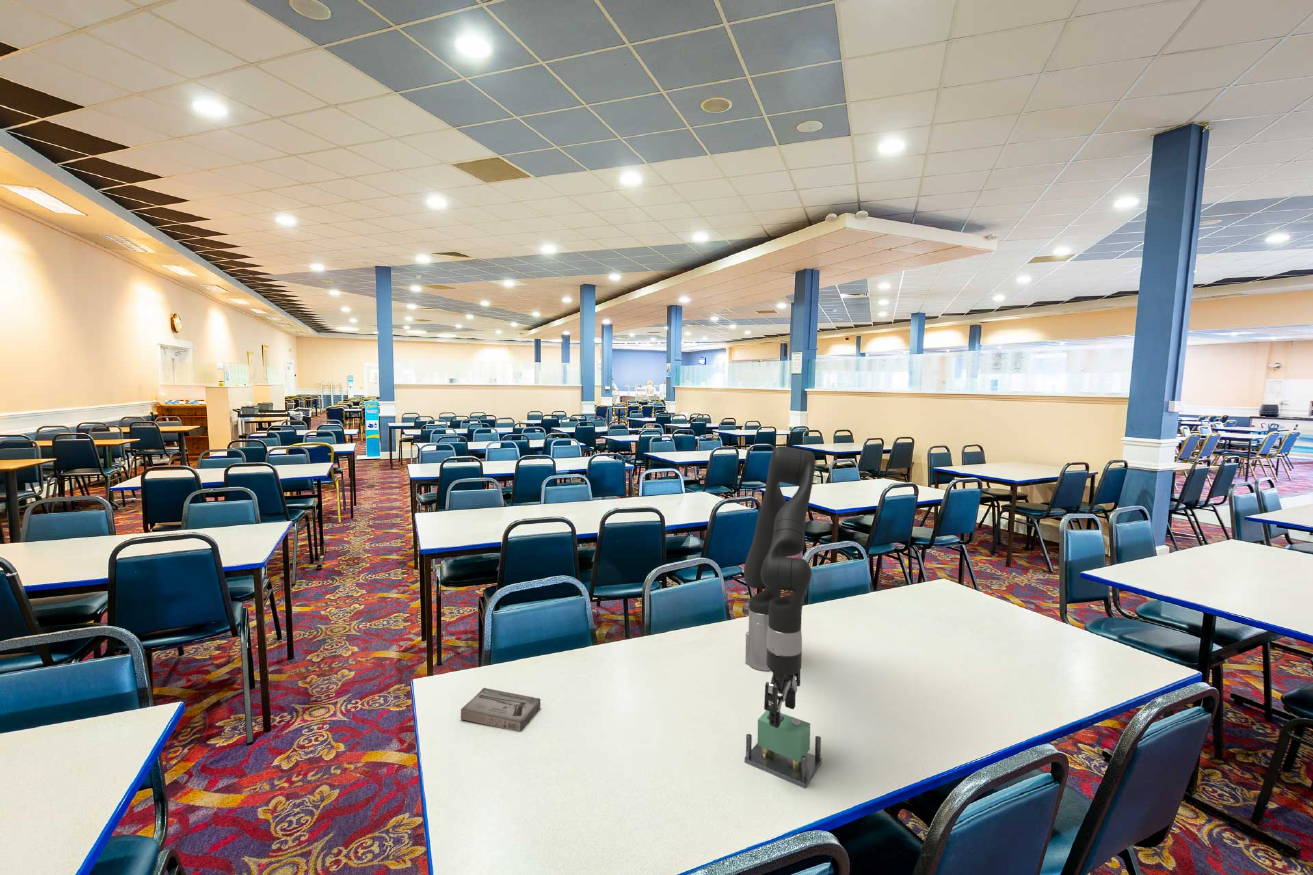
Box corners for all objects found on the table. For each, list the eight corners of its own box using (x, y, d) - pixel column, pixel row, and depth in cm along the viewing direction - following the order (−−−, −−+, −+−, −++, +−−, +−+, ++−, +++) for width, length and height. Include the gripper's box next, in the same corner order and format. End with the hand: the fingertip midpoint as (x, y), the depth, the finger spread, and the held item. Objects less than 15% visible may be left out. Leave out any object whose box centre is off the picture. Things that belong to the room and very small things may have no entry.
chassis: (744, 762, 123) (744, 736, 122) (763, 739, 131) (763, 715, 130) (805, 787, 115) (805, 760, 114) (821, 762, 123) (822, 736, 122)
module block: (757, 745, 123) (757, 716, 123) (767, 733, 128) (768, 705, 127) (800, 762, 117) (801, 732, 117) (809, 749, 122) (810, 720, 121)
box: (483, 697, 149) (483, 686, 148) (541, 708, 144) (541, 697, 144) (459, 720, 138) (459, 709, 138) (521, 733, 134) (520, 721, 134)
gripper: (781, 630, 129) (779, 696, 130) (754, 653, 117) (752, 726, 119) (812, 639, 124) (810, 707, 126) (787, 664, 113) (785, 739, 114)
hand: (782, 716), depth 122 cm, fingers open, 8 cm apart
